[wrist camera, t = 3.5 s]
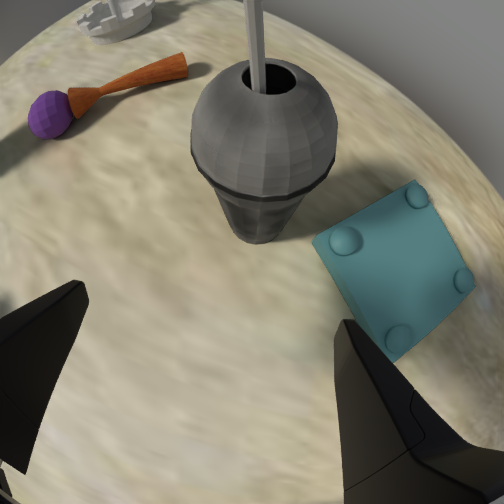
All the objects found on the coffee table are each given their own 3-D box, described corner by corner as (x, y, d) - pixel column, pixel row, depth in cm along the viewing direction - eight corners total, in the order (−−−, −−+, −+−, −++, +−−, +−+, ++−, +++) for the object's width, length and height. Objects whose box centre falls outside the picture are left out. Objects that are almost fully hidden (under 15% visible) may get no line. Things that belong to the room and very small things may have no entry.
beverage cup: (315, 213, 25) (426, 5, 5) (263, 279, 23) (333, 75, 4) (250, 166, 26) (256, -56, 6) (195, 224, 24) (101, 1, 5)
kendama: (190, 64, 25) (19, 133, 21) (191, 96, 31) (41, 154, 27) (178, 33, 25) (21, 96, 21) (179, 64, 31) (40, 118, 27)
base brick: (463, 289, 23) (480, 285, 20) (379, 363, 22) (394, 366, 19) (405, 188, 26) (418, 175, 23) (311, 242, 24) (318, 231, 21)
